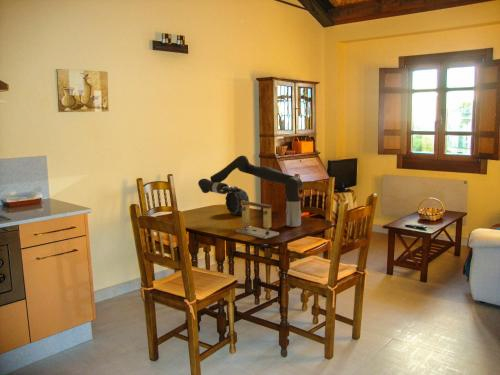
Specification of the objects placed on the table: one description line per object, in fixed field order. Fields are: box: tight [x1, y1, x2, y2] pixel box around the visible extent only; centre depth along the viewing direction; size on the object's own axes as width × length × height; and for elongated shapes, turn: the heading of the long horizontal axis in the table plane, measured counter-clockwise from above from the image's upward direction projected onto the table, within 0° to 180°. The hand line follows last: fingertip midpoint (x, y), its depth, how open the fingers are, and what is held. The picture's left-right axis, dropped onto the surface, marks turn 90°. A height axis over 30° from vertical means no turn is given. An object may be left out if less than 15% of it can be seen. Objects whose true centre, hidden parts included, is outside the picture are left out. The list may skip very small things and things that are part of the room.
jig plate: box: [235, 225, 280, 240], centre depth 299 cm, size 13×26×2 cm, turn 46°
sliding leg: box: [241, 204, 251, 229], centre depth 304 cm, size 5×4×16 cm
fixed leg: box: [262, 208, 272, 233], centre depth 291 cm, size 5×4×16 cm
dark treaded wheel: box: [224, 187, 250, 216], centre depth 355 cm, size 11×20×20 cm, turn 35°
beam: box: [241, 200, 272, 209], centre depth 297 cm, size 3×24×2 cm, turn 46°
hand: (237, 190), depth 307 cm, fingers open, 3 cm apart
